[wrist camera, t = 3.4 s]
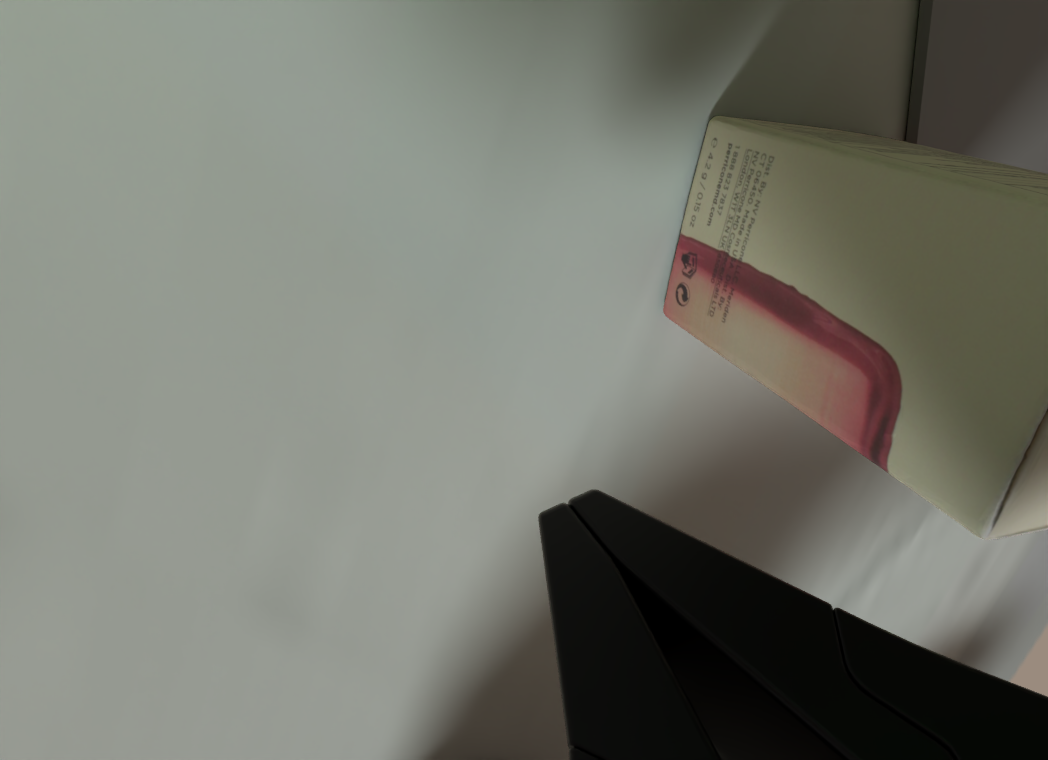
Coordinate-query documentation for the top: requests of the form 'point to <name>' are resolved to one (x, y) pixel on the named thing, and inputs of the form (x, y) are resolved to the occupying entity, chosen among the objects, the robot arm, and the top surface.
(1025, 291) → the small box
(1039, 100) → the mat
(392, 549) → the top surface
